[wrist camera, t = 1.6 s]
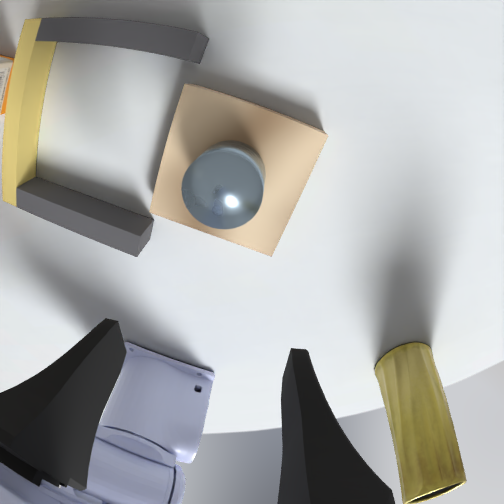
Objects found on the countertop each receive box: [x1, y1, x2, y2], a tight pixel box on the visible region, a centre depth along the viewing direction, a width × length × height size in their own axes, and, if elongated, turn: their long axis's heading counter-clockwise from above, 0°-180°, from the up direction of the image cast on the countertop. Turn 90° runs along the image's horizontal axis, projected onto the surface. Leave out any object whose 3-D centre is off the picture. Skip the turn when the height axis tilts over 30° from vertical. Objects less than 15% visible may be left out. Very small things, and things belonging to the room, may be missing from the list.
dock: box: [2, 17, 209, 257], centre depth 15 cm, size 13×14×2 cm
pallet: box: [149, 84, 328, 257], centre depth 17 cm, size 8×8×2 cm
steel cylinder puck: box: [181, 140, 266, 229], centre depth 15 cm, size 4×4×3 cm
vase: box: [375, 342, 466, 504], centre depth 19 cm, size 6×6×14 cm
